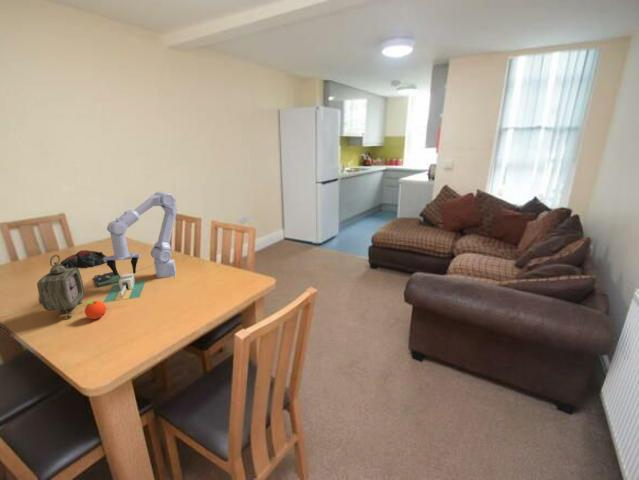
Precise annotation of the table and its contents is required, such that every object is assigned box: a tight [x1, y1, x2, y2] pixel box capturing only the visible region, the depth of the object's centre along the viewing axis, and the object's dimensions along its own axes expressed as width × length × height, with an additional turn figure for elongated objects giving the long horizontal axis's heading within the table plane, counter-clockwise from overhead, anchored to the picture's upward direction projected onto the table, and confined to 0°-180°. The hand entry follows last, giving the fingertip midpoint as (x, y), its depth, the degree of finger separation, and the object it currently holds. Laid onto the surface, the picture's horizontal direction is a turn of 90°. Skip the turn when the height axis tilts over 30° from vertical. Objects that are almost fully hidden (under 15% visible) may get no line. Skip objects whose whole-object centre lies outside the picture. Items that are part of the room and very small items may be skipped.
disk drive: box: [93, 271, 121, 288], centre depth 157 cm, size 10×3×15 cm
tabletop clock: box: [36, 254, 85, 319], centre depth 125 cm, size 14×9×25 cm, turn 17°
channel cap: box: [118, 272, 136, 290], centre depth 149 cm, size 5×8×5 cm, turn 21°
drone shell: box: [60, 250, 107, 269], centre depth 180 cm, size 21×20×8 cm
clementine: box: [81, 300, 107, 320], centre depth 123 cm, size 8×7×7 cm
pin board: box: [102, 280, 146, 304], centre depth 145 cm, size 14×19×4 cm
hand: (125, 273), depth 148 cm, fingers open, 7 cm apart
